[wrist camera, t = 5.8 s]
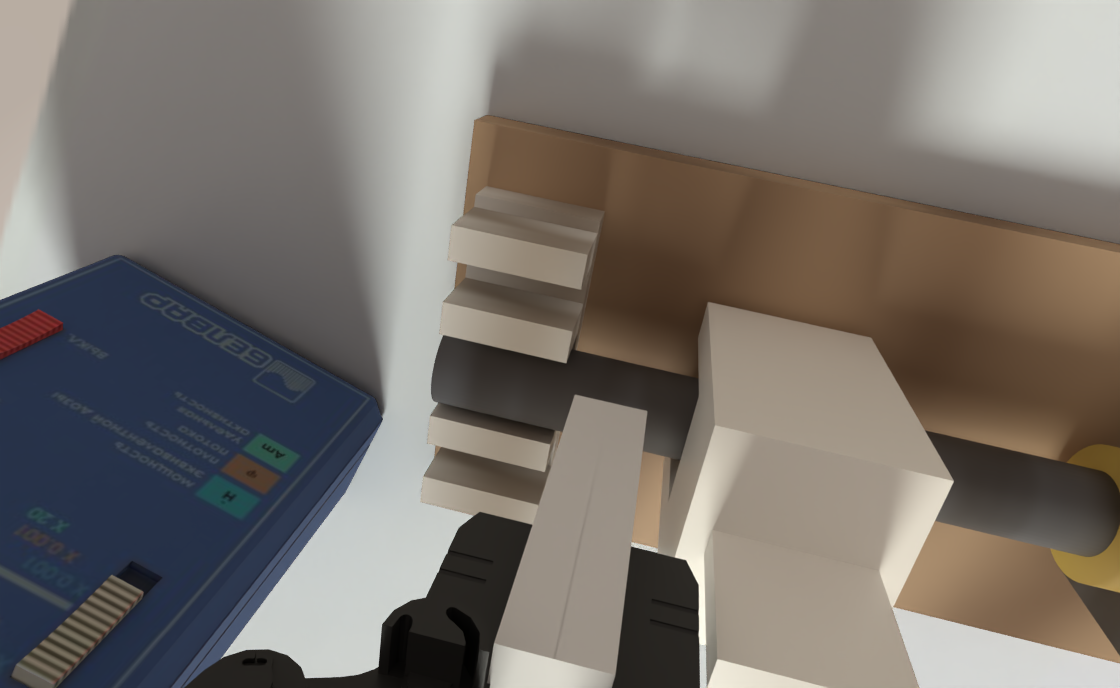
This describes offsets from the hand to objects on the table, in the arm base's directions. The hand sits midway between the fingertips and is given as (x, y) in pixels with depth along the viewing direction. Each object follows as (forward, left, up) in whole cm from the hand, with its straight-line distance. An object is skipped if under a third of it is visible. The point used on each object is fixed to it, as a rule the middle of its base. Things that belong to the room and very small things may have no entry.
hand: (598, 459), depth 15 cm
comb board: (+6, 0, -6) cm, 9 cm away
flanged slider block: (+4, 0, -5) cm, 6 cm away
